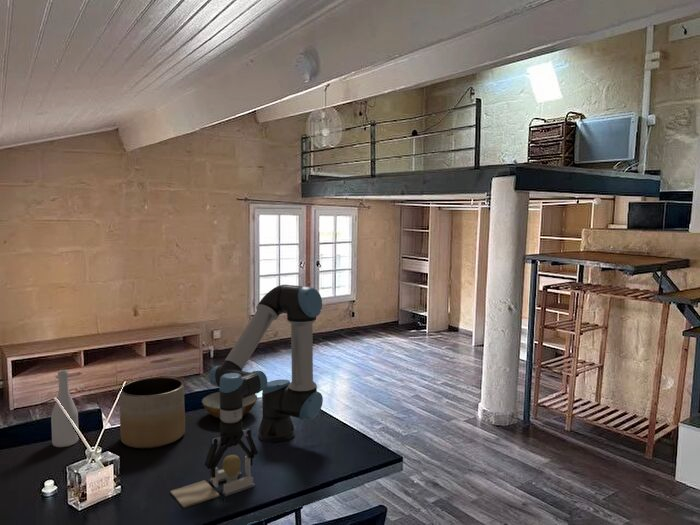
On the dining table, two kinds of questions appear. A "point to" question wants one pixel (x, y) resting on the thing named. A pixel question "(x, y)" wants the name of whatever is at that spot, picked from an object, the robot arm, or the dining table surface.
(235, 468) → the light bulb
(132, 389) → the planter
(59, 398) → the wine bottle
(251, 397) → the bowl
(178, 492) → the square wooden board
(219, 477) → the socket rails
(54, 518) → the dining table surface
